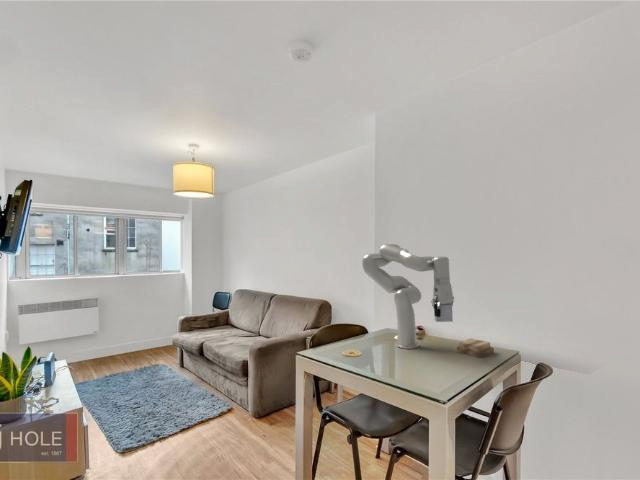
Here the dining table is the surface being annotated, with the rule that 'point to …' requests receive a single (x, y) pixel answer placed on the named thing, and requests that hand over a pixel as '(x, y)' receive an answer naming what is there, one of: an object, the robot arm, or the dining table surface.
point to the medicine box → (445, 313)
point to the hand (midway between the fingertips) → (443, 315)
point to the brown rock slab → (475, 348)
